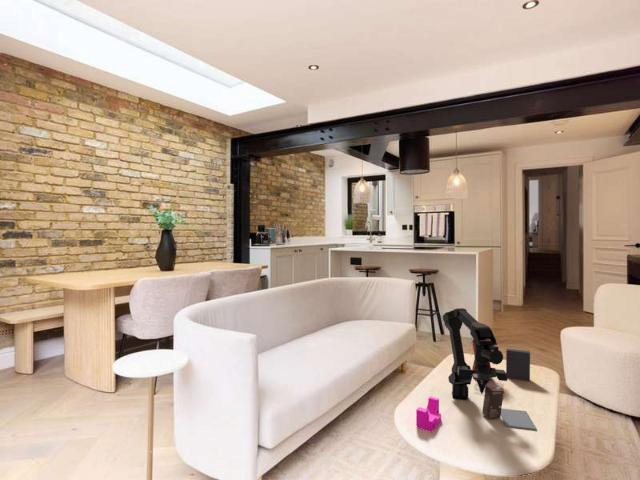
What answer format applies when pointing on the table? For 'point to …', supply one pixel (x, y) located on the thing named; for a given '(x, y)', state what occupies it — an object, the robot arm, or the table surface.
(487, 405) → the box
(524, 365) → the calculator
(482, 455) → the table surface
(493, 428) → the table surface
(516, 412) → the mat
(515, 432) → the table surface
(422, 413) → the toy block
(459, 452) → the table surface
